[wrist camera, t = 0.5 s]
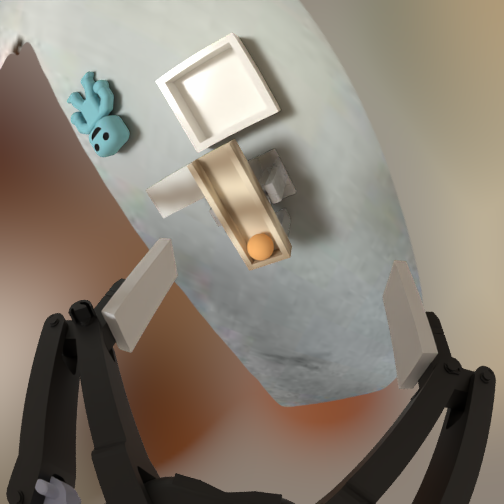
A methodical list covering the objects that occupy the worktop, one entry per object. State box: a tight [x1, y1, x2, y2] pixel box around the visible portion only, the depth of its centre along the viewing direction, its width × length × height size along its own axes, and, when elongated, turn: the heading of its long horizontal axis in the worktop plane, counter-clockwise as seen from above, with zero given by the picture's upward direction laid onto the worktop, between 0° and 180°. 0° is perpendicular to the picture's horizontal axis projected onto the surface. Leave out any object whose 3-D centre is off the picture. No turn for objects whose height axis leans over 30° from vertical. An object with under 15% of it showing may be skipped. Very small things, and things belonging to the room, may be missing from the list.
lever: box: [146, 139, 292, 270], centre depth 35 cm, size 15×14×3 cm
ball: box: [247, 234, 274, 260], centre depth 35 cm, size 3×3×3 cm
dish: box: [156, 33, 281, 153], centre depth 33 cm, size 12×12×4 cm
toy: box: [67, 72, 130, 157], centre depth 37 cm, size 10×5×15 cm
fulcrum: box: [209, 149, 297, 237], centre depth 38 cm, size 11×10×8 cm
